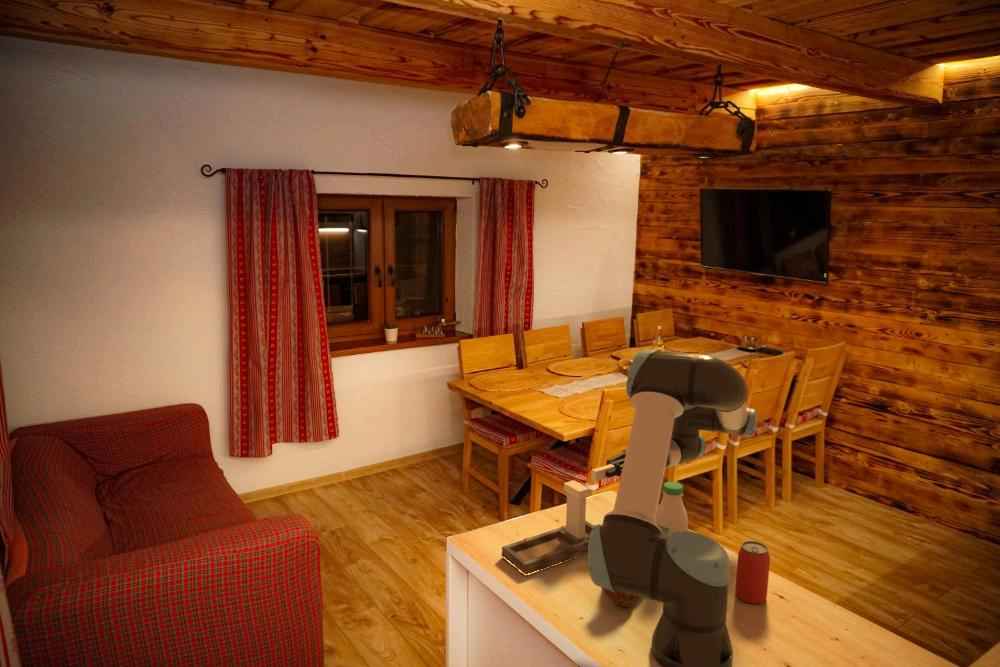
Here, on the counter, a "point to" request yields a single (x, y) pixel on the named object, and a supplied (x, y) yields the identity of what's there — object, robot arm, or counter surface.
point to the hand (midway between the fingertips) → (593, 475)
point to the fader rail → (544, 550)
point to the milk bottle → (672, 510)
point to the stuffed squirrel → (621, 598)
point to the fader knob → (575, 513)
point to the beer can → (752, 572)
